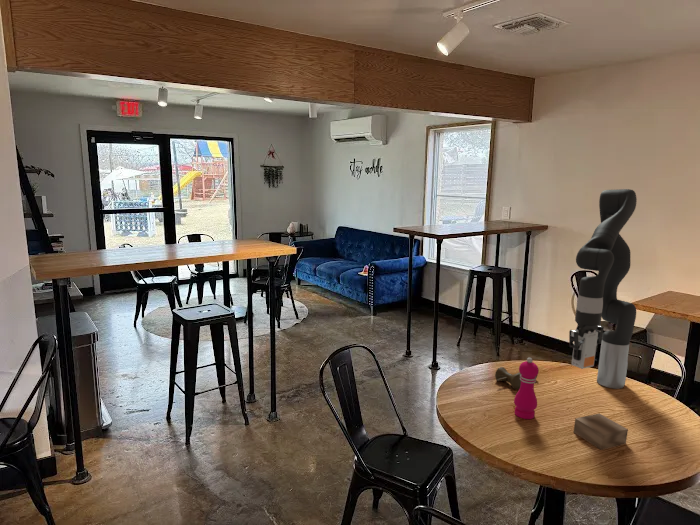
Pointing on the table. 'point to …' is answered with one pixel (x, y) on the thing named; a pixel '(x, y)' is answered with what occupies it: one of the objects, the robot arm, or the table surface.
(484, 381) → the table surface
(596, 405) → the table surface
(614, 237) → the robot arm
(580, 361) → the skincare box
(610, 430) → the walnut block
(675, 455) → the table surface
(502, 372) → the kendama
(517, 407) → the pepper mill
